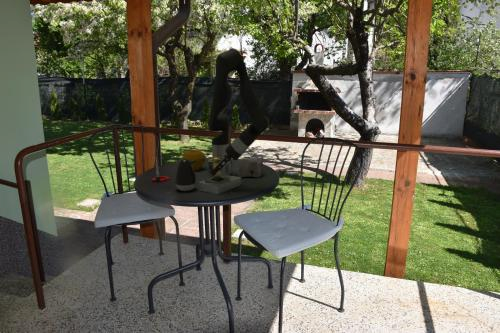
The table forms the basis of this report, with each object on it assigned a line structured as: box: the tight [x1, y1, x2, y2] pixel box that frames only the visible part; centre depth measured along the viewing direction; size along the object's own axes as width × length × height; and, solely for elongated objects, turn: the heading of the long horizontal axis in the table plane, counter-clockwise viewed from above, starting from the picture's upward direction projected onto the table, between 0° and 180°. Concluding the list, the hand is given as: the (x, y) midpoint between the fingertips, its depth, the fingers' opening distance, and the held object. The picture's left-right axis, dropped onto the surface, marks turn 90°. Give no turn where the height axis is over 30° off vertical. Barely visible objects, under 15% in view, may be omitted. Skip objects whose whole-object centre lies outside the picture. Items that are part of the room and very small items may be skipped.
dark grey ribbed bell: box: [174, 158, 197, 192], centre depth 196 cm, size 10×10×15 cm
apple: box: [182, 149, 207, 172], centre depth 237 cm, size 13×13×11 cm
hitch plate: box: [197, 174, 242, 195], centre depth 200 cm, size 18×12×5 cm, turn 144°
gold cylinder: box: [211, 156, 222, 181], centre depth 196 cm, size 5×5×12 cm
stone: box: [237, 156, 265, 178], centre depth 221 cm, size 13×12×10 cm
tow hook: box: [151, 157, 170, 183], centre depth 216 cm, size 8×13×9 cm
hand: (213, 173), depth 197 cm, fingers closed on gold cylinder, 3 cm apart
